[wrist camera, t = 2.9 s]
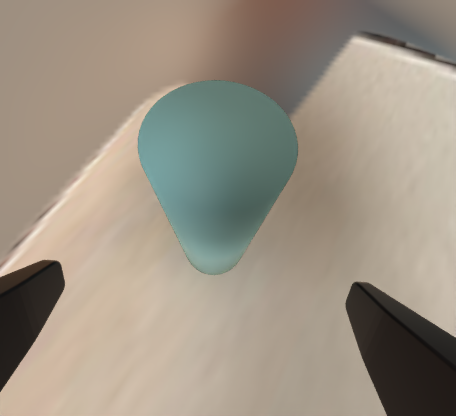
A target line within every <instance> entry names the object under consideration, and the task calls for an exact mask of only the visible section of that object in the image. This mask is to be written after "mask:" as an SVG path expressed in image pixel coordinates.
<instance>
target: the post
mask: <svg viewBox="0 0 456 416" xmlns="http://www.w3.org/2000/svg"><path fill="white" fill-rule="evenodd" d="M138 153H139V158H140V161H141V164H142V167H143V169H144V171H145V173H146V175H147V177H148V179H149V181H150V183H151V185H152V187H153V189H154V191H155V193H156V195H157V197H158V199H159V201H160V204H161V206H162V208H163V210H164V212H165V214H166V216H167V218H168V220H169V222H170V224H171V226H172V228H173V230H174V232H175V234H176V236H177V238H178V240H179V242H180V244H181V246H182V248H183V250H184V252H185V254H186V256H187V258H188V260H189V262H190V263H191V264H192V265H193V266H194V267H195V268H196V269H197V270H199V271H200V272H203V273H205V274H210V275H217V274H222V273H225V272H227V271H229V270H231V269H232V268H233V267H234V266H235V265H236V264H237V263H238V261H239V260H240V258H241V257H242V255H243V253H244V252H245V250H246V248H247V247H248V245H249V244H250V242H251V240H252V239H253V237H254V235H255V234H256V232H257V231H258V229H259V227H260V226H261V224H262V222H263V221H264V219H265V217H266V216H267V214H268V213H269V211H270V209H271V208H272V206H273V204H274V203H275V201H276V200H277V198H278V196H279V195H280V193H281V191H282V190H283V188H284V187H285V185H286V183H287V182H288V180H289V178H290V176H291V175H292V173H293V171H294V168H295V165H296V161H297V156H298V143H297V136H296V133H295V130H294V127H293V125H292V123H291V121H290V119H289V118H288V116H287V115H286V113H285V112H284V111H283V110H282V108H281V107H280V106H279V105H278V104H277V103H276V102H275V101H273V100H272V99H271V98H269V97H268V96H267V95H265V94H263V93H262V92H260V91H258V90H256V89H254V88H252V87H249V86H246V85H243V84H239V83H235V82H229V81H220V80H211V81H201V82H196V83H191V84H187V85H185V86H182V87H179V88H177V89H175V90H173V91H171V92H170V93H168V94H166V95H165V96H163V97H162V98H161V99H160V100H159V101H157V102H156V103H155V104H154V106H153V107H152V108H151V109H150V110H149V112H148V113H147V115H146V116H145V118H144V120H143V122H142V125H141V128H140V131H139V136H138Z"/></svg>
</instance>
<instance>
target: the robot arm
mask: <svg viewBox="0 0 456 416" xmlns="http://www.w3.org/2000/svg"><path fill="white" fill-rule="evenodd" d="M64 287H65V280H64V276H63V271H62V267H61V264H60V262H59V261H55V260H42V261H39V262H37V263H34V264H32V265H29V266H27V267H24V268H22V269H19V270H17V271H14V272H12V273H10V274H7V275H5V276H2V277H0V392H1V390H2V389H3V387H4V386H5V384H6V383H7V382H8V380H9V379H10V377H11V376H12V374H13V373H14V371H15V370H16V368H17V367H18V365H19V364H20V362H21V361H22V360H23V358H24V357H25V355H26V354H27V352H28V351H29V349H30V348H31V346H32V345H33V343H34V342H35V340H36V338H37V337H38V335H39V333H40V332H41V330H42V328H43V326H44V325H45V323H46V321H47V319H48V317H49V316H50V314H51V312H52V310H53V308H54V307H55V305H56V303H57V301H58V299H59V298H60V296H61V294H62V292H63V290H64ZM346 311H347V314H348V317H349V320H350V323H351V326H352V329H353V332H354V335H355V338H356V341H357V344H358V347H359V350H360V353H361V356H362V359H363V361H364V363H365V366H366V368H367V371H368V373H369V375H370V378H371V380H372V382H373V384H374V387H375V389H376V391H377V394H378V396H379V398H380V400H381V403H382V405H383V407H384V410H385V412H386V414H387V416H456V338H455V337H454V336H452V335H450V334H449V333H447V332H446V331H444V330H442V329H441V328H439V327H438V326H436V325H435V324H433V323H431V322H430V321H428V320H427V319H425V318H423V317H422V316H420V315H419V314H417V313H416V312H414V311H412V310H411V309H409V308H408V307H406V306H404V305H403V304H401V303H400V302H398V301H396V300H395V299H393V298H392V297H390V296H389V295H387V294H385V293H384V292H382V291H381V290H379V289H377V288H376V287H374V286H373V285H371V284H369V283H367V282H354V283H353V284H352V286H351V289H350V291H349V294H348V297H347V300H346Z"/></svg>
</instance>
